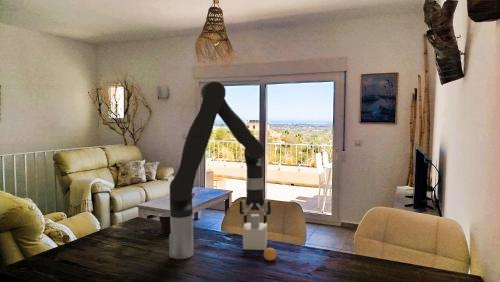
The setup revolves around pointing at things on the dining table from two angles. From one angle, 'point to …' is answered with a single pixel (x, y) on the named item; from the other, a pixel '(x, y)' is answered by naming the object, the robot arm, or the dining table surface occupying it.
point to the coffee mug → (165, 223)
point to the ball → (269, 254)
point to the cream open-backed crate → (255, 234)
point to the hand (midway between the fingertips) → (255, 223)
